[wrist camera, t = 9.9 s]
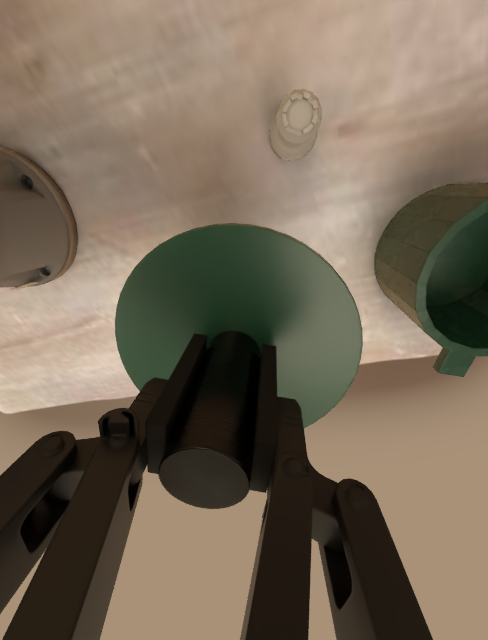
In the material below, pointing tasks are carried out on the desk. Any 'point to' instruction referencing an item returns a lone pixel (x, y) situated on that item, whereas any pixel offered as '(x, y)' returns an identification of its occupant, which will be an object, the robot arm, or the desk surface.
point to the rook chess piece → (295, 125)
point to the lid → (235, 344)
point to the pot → (441, 270)
